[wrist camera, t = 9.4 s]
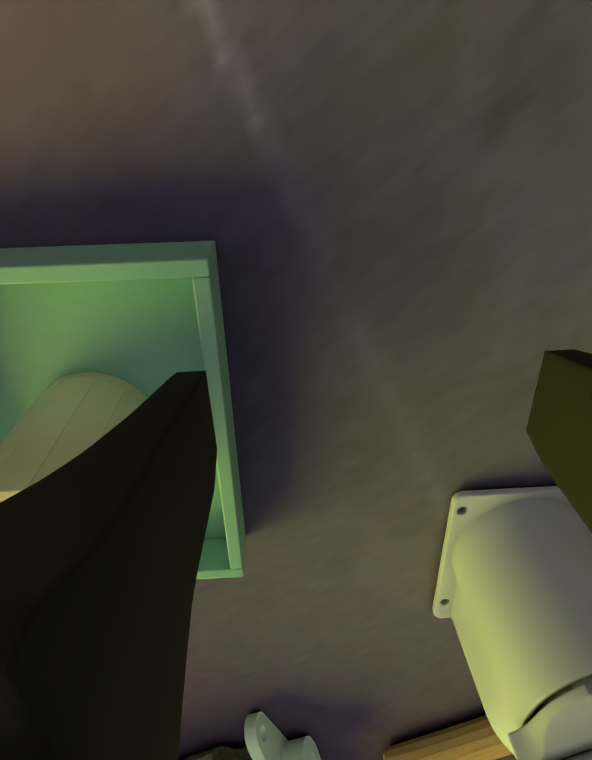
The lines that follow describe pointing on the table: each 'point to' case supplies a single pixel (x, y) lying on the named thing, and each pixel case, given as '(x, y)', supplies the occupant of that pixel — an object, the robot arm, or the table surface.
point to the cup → (63, 426)
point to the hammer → (452, 744)
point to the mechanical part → (275, 741)
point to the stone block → (222, 754)
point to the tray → (125, 344)
